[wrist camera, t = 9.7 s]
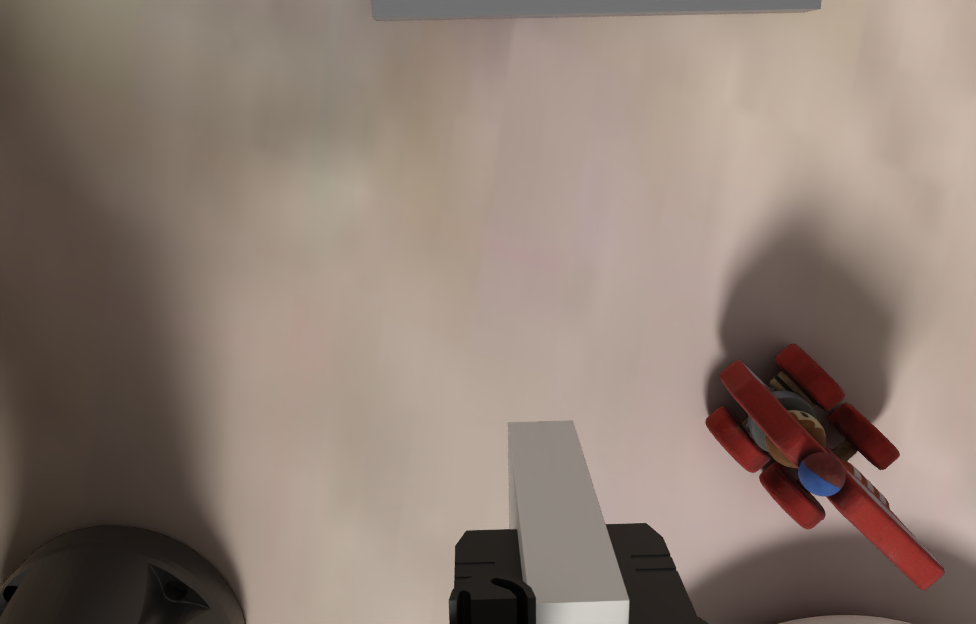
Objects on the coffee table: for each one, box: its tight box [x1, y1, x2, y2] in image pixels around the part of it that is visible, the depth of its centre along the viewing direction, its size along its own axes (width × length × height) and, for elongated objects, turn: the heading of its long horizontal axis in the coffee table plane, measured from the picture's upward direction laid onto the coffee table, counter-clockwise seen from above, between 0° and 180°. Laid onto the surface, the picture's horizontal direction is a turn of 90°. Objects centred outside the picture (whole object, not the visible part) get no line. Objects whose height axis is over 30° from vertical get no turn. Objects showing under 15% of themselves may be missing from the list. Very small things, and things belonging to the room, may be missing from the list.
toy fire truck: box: [706, 344, 945, 590], centre depth 42 cm, size 7×12×10 cm, turn 45°
